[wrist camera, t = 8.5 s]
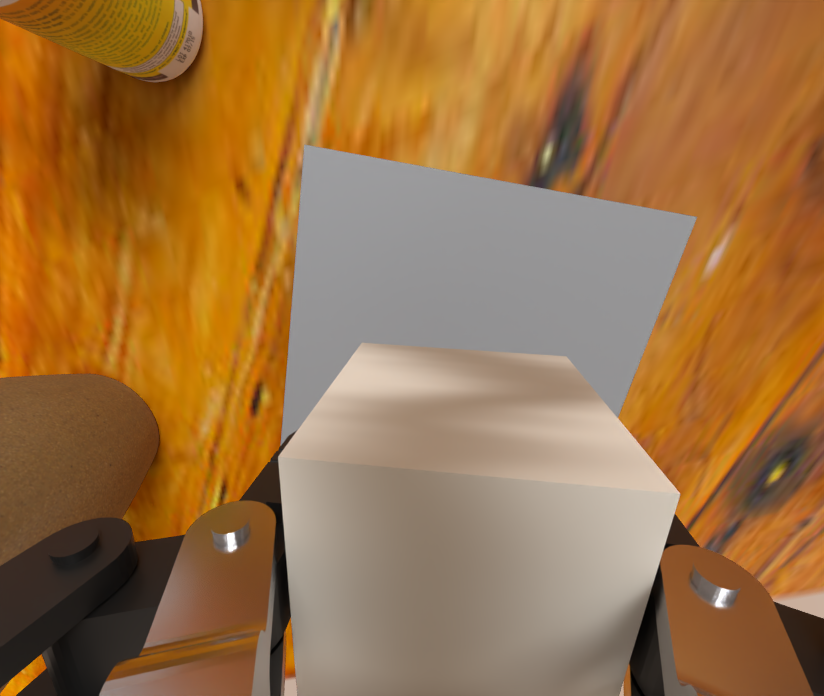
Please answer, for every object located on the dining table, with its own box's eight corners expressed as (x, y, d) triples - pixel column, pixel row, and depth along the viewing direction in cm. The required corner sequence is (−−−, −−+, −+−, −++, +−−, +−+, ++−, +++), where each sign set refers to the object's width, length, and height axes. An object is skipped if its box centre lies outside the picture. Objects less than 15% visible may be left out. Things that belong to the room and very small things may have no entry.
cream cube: (566, 356, 9) (681, 494, 5) (537, 523, 11) (601, 753, 6) (361, 342, 10) (277, 456, 5) (362, 506, 11) (298, 708, 7)
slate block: (625, 217, 19) (696, 217, 14) (543, 457, 24) (572, 532, 18) (347, 166, 20) (304, 144, 14) (319, 410, 24) (278, 468, 19)
